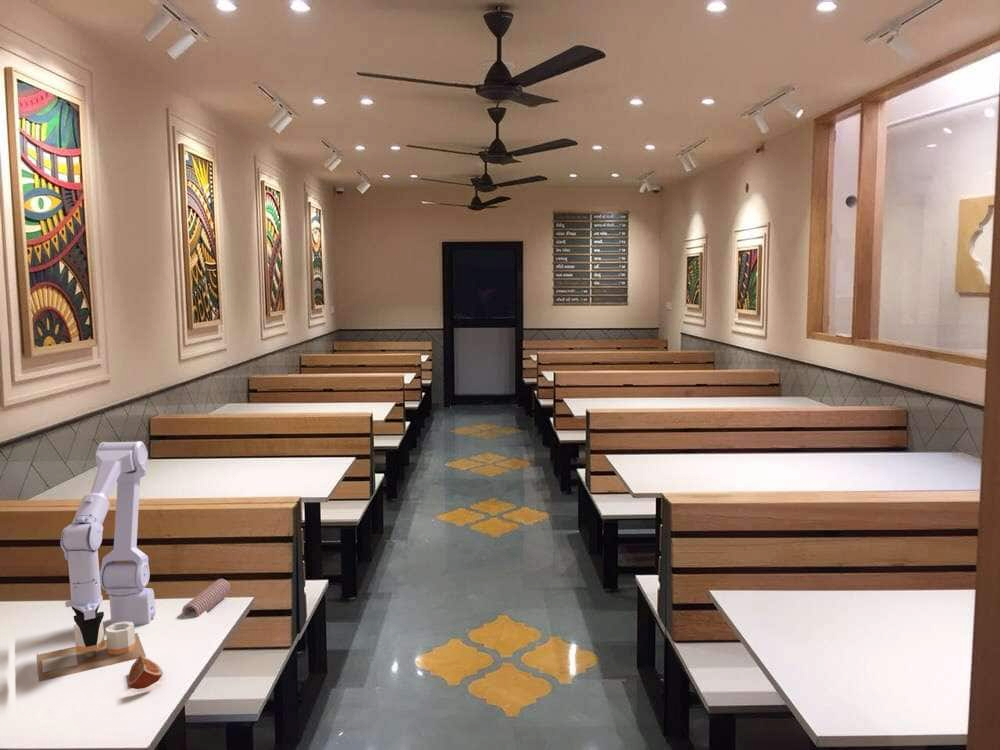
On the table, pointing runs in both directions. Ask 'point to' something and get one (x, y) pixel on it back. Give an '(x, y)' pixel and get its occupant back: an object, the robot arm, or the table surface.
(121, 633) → the seated sleeve
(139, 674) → the fruit slice
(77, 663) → the pin board
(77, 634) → the sleeve
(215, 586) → the coil
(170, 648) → the table surface
